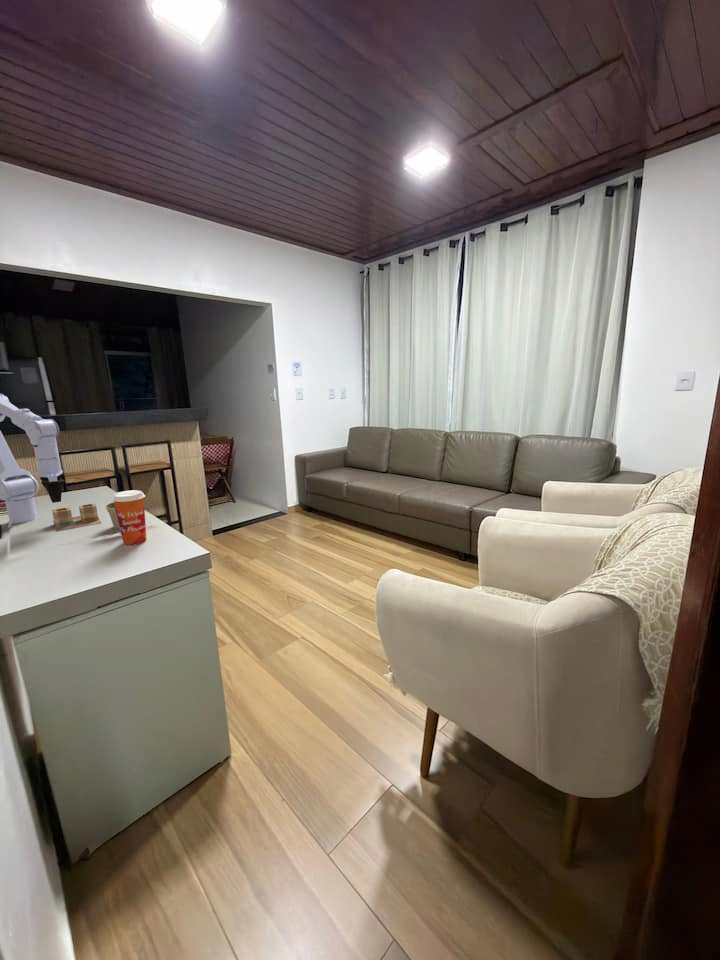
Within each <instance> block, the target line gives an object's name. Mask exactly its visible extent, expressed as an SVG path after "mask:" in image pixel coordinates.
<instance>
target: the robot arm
mask: <svg viewBox="0 0 720 960" xmlns="http://www.w3.org/2000/svg"><path fill="white" fill-rule="evenodd" d="M6 417H8V418H10V421H11V423H12V424H13V425H15V426H16V427H19V428H20V429H22V430H24V431H25V434H26V436H28V438H29V441H30V444H31V445H33V449H34V455H35V460H36V466H37V472H34V473H33V475H34V476H33V475H32V474H31V472H30V471H28V470H27V469H23V468H21V467H20V466H19V464H18V463H17V461H16V459H15V457H14V455H13V453H12V451H11V449H10V447H9V444H8V443H7V441H6V439H5V436H4V435H3V433H2V431H1V430H0V500H2V501H4V502H5V507H6V511H7V516H8V526H7V527H8V528H9V529H12V527H13V524H23V523H28V522H31V521H35V520H37V519H38V514H37V508H36V503H35V498H34V497H35V496H36V494H37V492H38V491H39V482H38V481H37V480H36V478H35V477H39V479H40V480H41V481H40V483H41V485H42V486H43V487H44V488H45V490H46V491H47V494H48V496H49V498H50V501H51V502H52V503H61V502H62V491H63V486H64V484H65V479H62V477H63V476H62V474H63V472H64V471H63V469H62V464H61V458H60V454H59V453H60V452H59V449H58V441H57V437H59V434H60V427H59V425H58V423H57V422H56V421H55V420H54V419H53V418H47V419H46V418H45V419H44V418H42V417H41V415H37V414H35V413H33V411H31V410H30V409H29V408H18V407H17V406H15V405H14V404H12V402H10V400H9V398H8V396H6V395H4V394H3V393H0V422H3V421H4V420H5V418H6Z"/></svg>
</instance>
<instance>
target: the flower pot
mask: <svg viewBox="0 0 720 960" xmlns="http://www.w3.org/2000/svg"><path fill="white" fill-rule="evenodd" d="M104 508H105V509H106V511H107V513H108V514H109V517H110V520H111V523H112V526H113V528H114V529H115V530H119V533H121V531H120V527H119V522H118V518H117V514H116V510H115V505H114V501H112V502H110V503H107V504H105V506H104Z"/></svg>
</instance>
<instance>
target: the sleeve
mask: <svg viewBox="0 0 720 960" xmlns="http://www.w3.org/2000/svg"><path fill="white" fill-rule="evenodd" d="M51 512H52V516H53V518H52V519H53V521H54V522H53V524H54V523H55V525H56V527H61V526H66V525H71V524H73V519H72V517H73V515H72V514H73V513H72V509H71V508H70V507H69V506H66V507H60V508H54V509H51Z"/></svg>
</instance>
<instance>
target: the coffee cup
mask: <svg viewBox="0 0 720 960" xmlns="http://www.w3.org/2000/svg"><path fill="white" fill-rule="evenodd" d="M145 497H146V495H145V494H144V492H143V491H142V490H137V489H133V490H125V491H124V490H123V491H118V492H116V493H114V495H113V497H112V498H111V500H112V502H114V505H115V510H116V514H117V518H118V522H119V527H120V529H119V532H120V531H121V532H120V535H121V539H122V542H123V545H125V544H126V545H125V546H135V545H134V544H136V545H139V543H140V544H142V542H143V543H144V542H146V541H147V527H146V512H145ZM145 540H146V541H145Z"/></svg>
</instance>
